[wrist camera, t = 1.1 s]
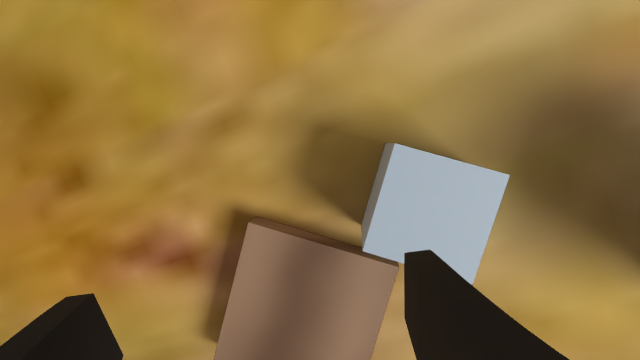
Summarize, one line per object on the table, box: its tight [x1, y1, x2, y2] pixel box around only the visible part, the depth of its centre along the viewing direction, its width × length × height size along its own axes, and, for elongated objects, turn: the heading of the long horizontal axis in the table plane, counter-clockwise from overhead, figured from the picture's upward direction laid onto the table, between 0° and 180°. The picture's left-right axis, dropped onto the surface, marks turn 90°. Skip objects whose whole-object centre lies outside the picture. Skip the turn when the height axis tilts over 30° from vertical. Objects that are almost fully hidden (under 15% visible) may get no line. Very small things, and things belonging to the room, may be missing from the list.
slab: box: [213, 217, 399, 360], centre depth 21 cm, size 8×8×2 cm
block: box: [361, 143, 510, 284], centre depth 17 cm, size 5×5×5 cm
